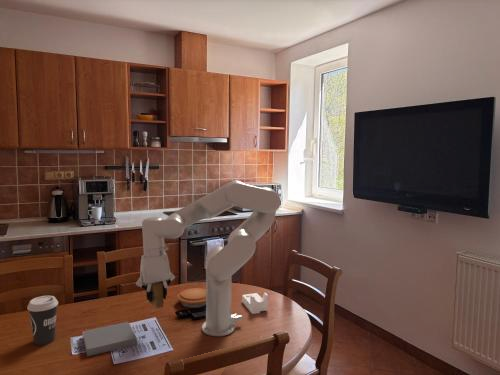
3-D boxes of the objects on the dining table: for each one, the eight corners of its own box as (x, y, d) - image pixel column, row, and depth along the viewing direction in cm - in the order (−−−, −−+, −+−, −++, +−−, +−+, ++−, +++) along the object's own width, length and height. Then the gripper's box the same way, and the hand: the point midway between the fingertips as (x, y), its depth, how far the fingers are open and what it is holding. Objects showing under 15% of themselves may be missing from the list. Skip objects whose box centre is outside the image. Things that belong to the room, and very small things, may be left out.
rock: (168, 302, 133) (175, 286, 143) (150, 287, 131) (158, 272, 141) (149, 319, 136) (156, 303, 145) (131, 304, 134) (140, 289, 144)
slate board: (128, 327, 143) (128, 321, 143) (136, 344, 131) (136, 337, 131) (82, 337, 135) (82, 331, 135) (87, 356, 123) (87, 349, 123)
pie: (170, 303, 166) (170, 292, 166) (196, 293, 178) (196, 283, 178) (193, 313, 156) (193, 302, 156) (219, 302, 168) (219, 291, 168)
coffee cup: (38, 350, 126) (36, 307, 125) (23, 342, 131) (21, 301, 130) (65, 338, 135) (63, 298, 133) (50, 331, 140) (48, 292, 138)
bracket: (267, 312, 159) (268, 295, 158) (252, 314, 157) (252, 297, 156) (256, 300, 171) (257, 284, 170) (242, 302, 169) (242, 286, 168)
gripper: (173, 245, 145) (175, 291, 147) (128, 252, 136) (131, 301, 138) (179, 250, 138) (182, 297, 140) (133, 257, 130) (136, 308, 132)
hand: (157, 298), depth 139 cm, fingers closed on rock, 4 cm apart
